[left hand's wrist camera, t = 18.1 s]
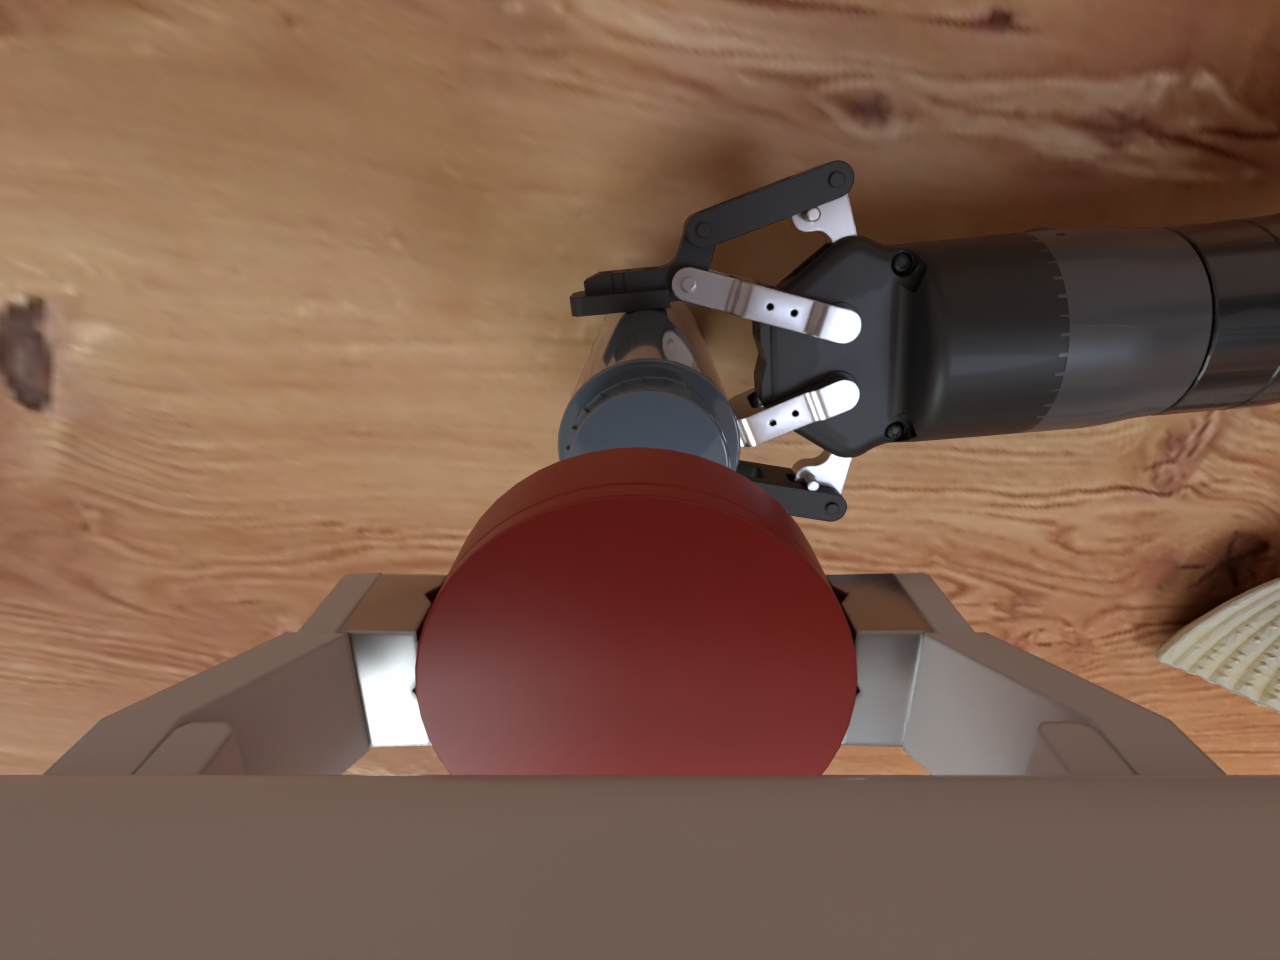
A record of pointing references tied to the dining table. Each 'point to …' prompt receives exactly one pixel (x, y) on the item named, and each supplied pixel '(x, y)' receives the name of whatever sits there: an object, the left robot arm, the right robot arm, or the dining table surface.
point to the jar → (651, 391)
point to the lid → (636, 629)
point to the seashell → (1234, 645)
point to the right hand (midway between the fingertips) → (583, 373)
